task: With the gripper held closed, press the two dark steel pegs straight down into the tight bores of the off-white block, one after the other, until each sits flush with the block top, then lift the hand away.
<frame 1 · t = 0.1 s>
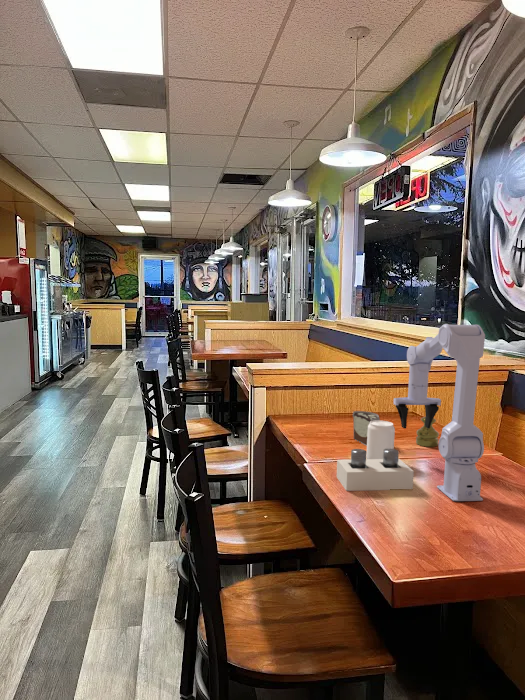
hand: (415, 427, 157), 10 cm above the table, tool pointing down, fingers open, 7 cm apart
olive green tiered piece: (426, 444, 174), on the table
peg two: (358, 459, 135), point 7 cm above the table, slide at 0.0 cm
peg one: (390, 458, 136), point 7 cm above the table, slide at 0.0 cm
food container: (368, 442, 175), on the table
beverage can: (379, 461, 155), on the table
bore block: (373, 483, 136), on the table
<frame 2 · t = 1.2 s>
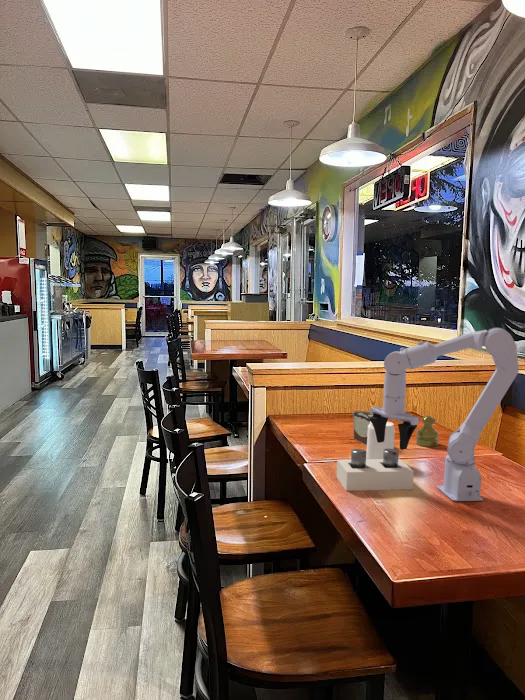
hand: (391, 445, 136), 10 cm above the table, tool pointing down, fingers open, 7 cm apart
nothing on the table moved.
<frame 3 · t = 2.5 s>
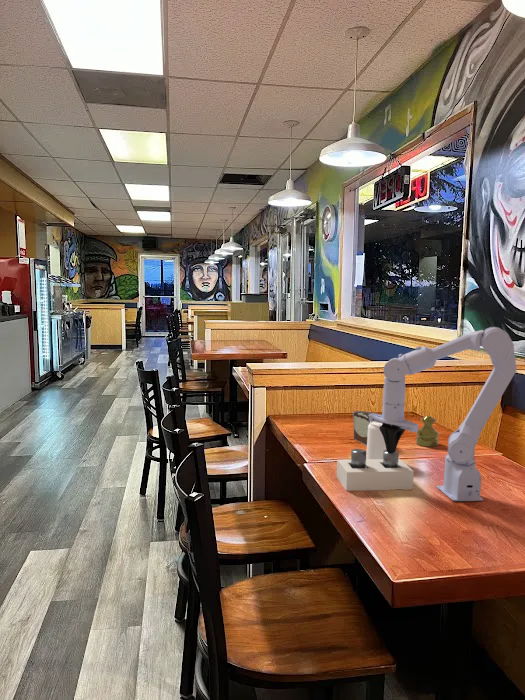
hand: (390, 452, 136), 9 cm above the table, tool pointing down, fingers closed, pressing on peg one
peg one: (390, 460, 136), point 6 cm above the table, slide at 0.3 cm, touching gripper
everything else where it was.
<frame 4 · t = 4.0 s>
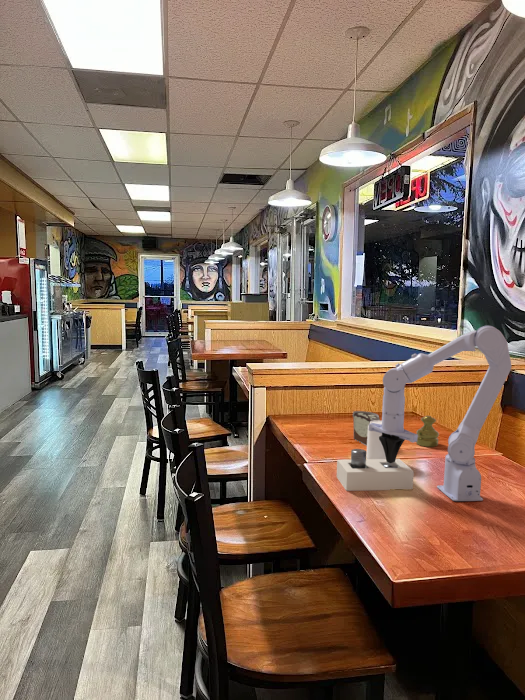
hand: (390, 461, 136), 6 cm above the table, tool pointing down, fingers closed
peg one: (389, 473, 136), point 3 cm above the table, slide at 4.0 cm
everything else where it was.
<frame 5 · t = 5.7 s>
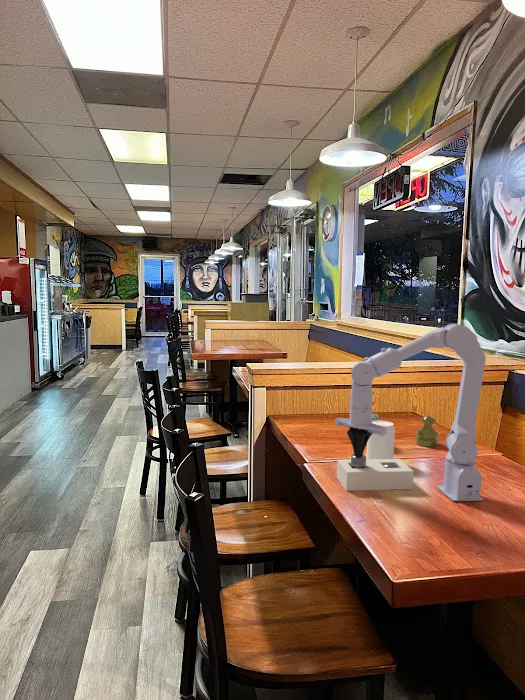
hand: (358, 456, 135), 8 cm above the table, tool pointing down, fingers closed, pressing on peg two
peg two: (358, 464, 135), point 5 cm above the table, slide at 1.4 cm, touching gripper
everything else where it was.
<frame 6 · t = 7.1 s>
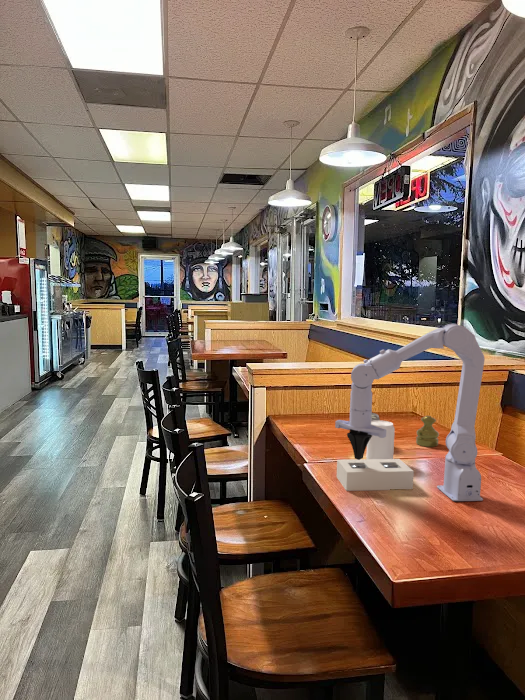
hand: (358, 458, 135), 7 cm above the table, tool pointing down, fingers closed
peg two: (357, 473, 135), point 3 cm above the table, slide at 4.0 cm
everything else where it was.
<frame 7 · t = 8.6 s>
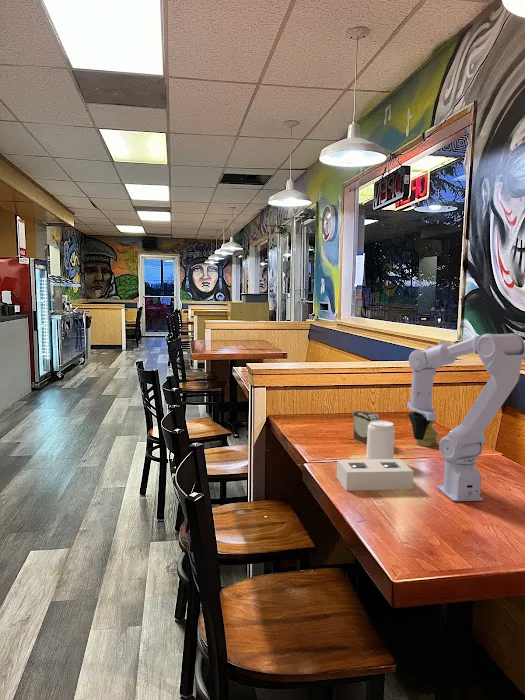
hand: (418, 438, 143), 10 cm above the table, tool pointing down, fingers closed
nothing on the table moved.
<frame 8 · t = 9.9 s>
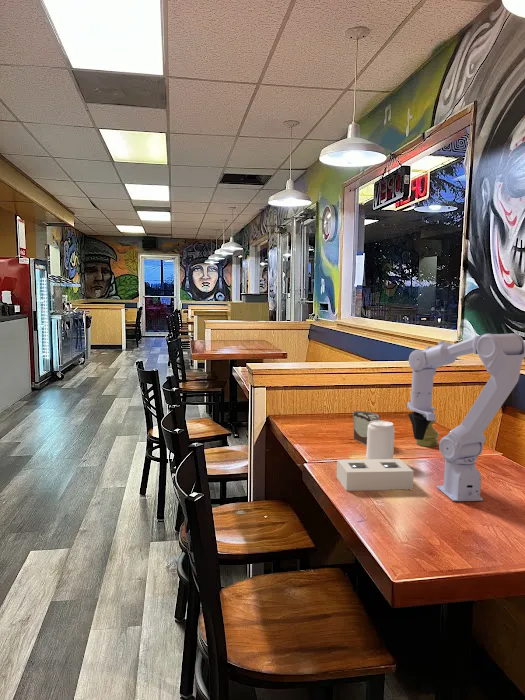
hand: (418, 438, 143), 10 cm above the table, tool pointing down, fingers closed
nothing on the table moved.
at the end: peg one slide at 4.0 cm; peg two slide at 4.0 cm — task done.
